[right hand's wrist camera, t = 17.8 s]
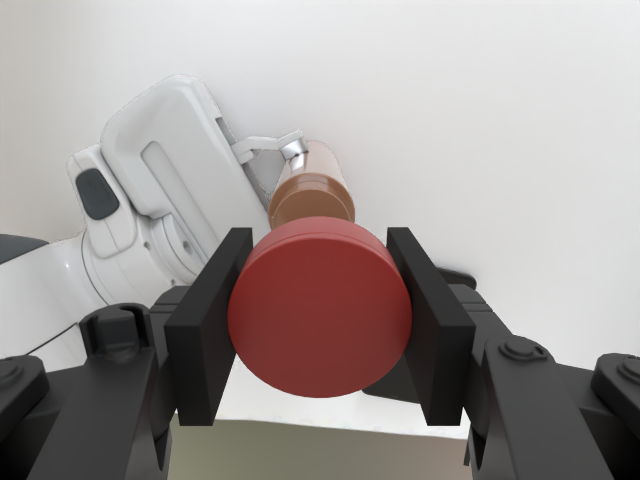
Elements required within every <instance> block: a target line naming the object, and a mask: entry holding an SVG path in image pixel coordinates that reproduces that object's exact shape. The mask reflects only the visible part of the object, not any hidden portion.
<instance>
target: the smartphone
mask: <svg viewBox="0 0 640 480" xmlns="http://www.w3.org/2000/svg"><path fill="white" fill-rule="evenodd" d="M437 270H438V271H439V273H440V274H441V276H442V277H443V278H444V280H445V281H446V283H447V284H465V285H466V286H468V287H470V288H471V289H473V290H475V289H476V286H477V283H476V280H475V278H474V277H472V276H470V275H467V274H463V273H458V272H454V271H449V270H445V269H440V268H437ZM361 390H362V392H364V393H365V394H367V395H372V396H378V397H383V398H389V399H394V400H400V401H405V402H411V403H417V404H420V402H419V399H418V396H417V393H416V390H415V387H414V384H413V381H412V378H411V374H410V371H409V368H408V365H407V362H406V359H405V356H404V353H403V354H402V356H401V358H400V359H399V360H398V362H397V363H396V364H395V366H394V367H393V368H392V369H391V370H390V371H389V372H388V373H387V374H385V375H384V376H383V377H382V378H380V379H379V380H378V381H376V382H375V383H373V384H371V385H370V386H368V387H366V388H363V389H361Z"/></svg>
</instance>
